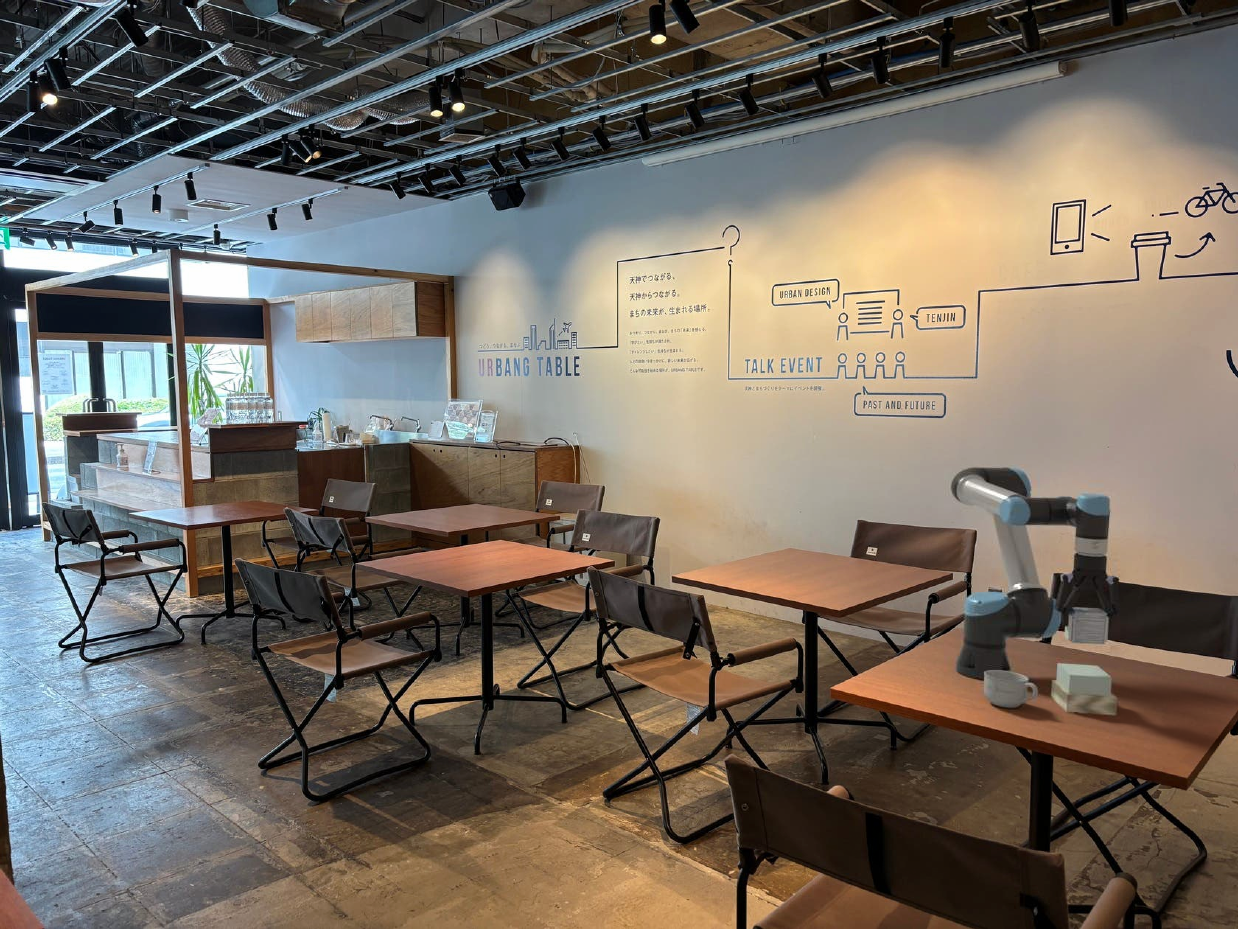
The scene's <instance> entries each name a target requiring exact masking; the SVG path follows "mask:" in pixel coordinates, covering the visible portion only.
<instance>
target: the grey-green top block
mask: <svg viewBox="0 0 1238 929" xmlns="http://www.w3.org/2000/svg"><path fill="white" fill-rule="evenodd" d="M1056 666H1057V668H1056V679H1055V680H1056V681H1057V682H1058V683H1059V684H1060V685H1061V686H1062V687H1063V688H1064V689H1065V690H1066V691H1067V692H1068V693H1069V694H1081V695H1095V696H1110V697H1111V693H1112V680H1113V678H1112V676H1111V675H1109V674H1108V673H1107V672H1106V671H1105V670H1103V669H1102V668H1100V666H1098V665H1090V664H1077V663H1076V664H1075V663H1061V662H1058V663H1057V665H1056Z"/></svg>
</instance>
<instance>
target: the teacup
mask: <svg viewBox="0 0 1238 929" xmlns="http://www.w3.org/2000/svg"><path fill="white" fill-rule="evenodd" d="M984 675H985V676H984V680H983V694H984V695H985V697H986V698H987V700H988V701H990V703H991V704H993V705H994V706H995V705H996V706H998V707H1002V708H1008V709H1009V708H1011V709H1012V708H1014V709H1015V708H1018V707H1019V706H1020V705H1022V704H1026V703H1027V702H1028V701H1032V700H1033V699H1036V698H1037V696H1038V693H1039V690H1038V687H1037V685H1036V684H1034V683H1032V682H1029V681H1030V680H1029V677H1028V676H1026V675H1023V674H1020V673H1017V672H1013V671H1011V672H1009V671H1001V670H988V671H985V672H984ZM1028 688H1031V689H1032V694H1031V695H1029V696H1028Z"/></svg>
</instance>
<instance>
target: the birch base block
mask: <svg viewBox="0 0 1238 929" xmlns="http://www.w3.org/2000/svg"><path fill="white" fill-rule="evenodd" d="M1056 680H1057V679H1051V693H1050V697H1051V696H1052V697H1051V698H1052V699H1053V698H1054V699H1053V700H1054V701H1055V702H1056V703H1057V704H1058V705H1059V706H1060V707H1061V708H1062V709H1063V710H1064V711H1065V712H1066V713H1074V712H1079V714H1089V713H1090V714H1092V715H1103V716H1104V715H1105V716H1106V715H1108V716H1117V710H1118V697H1117V696H1116V695H1115V694H1114V693H1113V692H1111V697H1110V696H1095V695H1081V694H1069V693H1068V692H1067V691H1066V690H1065V689H1064V688H1063V687H1062V686H1061V685H1060V684H1059V683H1058V682H1057V681H1056Z"/></svg>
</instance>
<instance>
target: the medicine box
mask: <svg viewBox="0 0 1238 929" xmlns="http://www.w3.org/2000/svg"><path fill="white" fill-rule="evenodd" d="M1070 614H1071V615H1073V618H1072V636H1071V640H1069V642H1070V643H1072V644H1093V645H1105V643H1106V642H1105V631H1106V616H1107V613H1106V612H1105V611H1104V610H1103V609H1101V608H1099V607H1098V608H1097V607H1076V606H1075V607H1074V606H1073V608H1072V610H1071V612H1070Z"/></svg>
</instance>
